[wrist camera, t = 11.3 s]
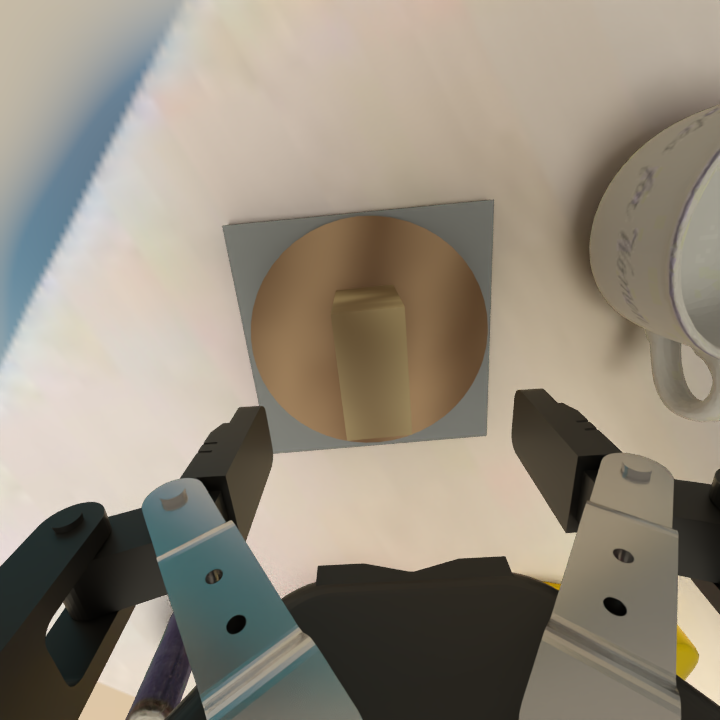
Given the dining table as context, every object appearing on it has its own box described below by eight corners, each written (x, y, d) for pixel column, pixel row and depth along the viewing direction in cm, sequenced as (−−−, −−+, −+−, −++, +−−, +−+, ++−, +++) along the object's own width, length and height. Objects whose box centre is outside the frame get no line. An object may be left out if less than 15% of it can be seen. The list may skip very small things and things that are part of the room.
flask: (200, 650, 33) (133, 839, 23) (166, 642, 33) (82, 831, 23) (224, 575, 30) (158, 755, 20) (186, 566, 30) (100, 744, 20)
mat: (487, 200, 21) (493, 199, 20) (481, 427, 26) (486, 435, 25) (228, 225, 21) (222, 225, 20) (272, 445, 26) (269, 454, 25)
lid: (484, 202, 20) (535, 199, 14) (480, 423, 24) (518, 487, 19) (232, 229, 20) (185, 236, 14) (277, 442, 25) (254, 510, 19)
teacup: (622, 83, 19) (798, 0, 11) (810, 149, 20) (1080, 113, 13) (510, 344, 24) (582, 406, 16) (666, 386, 25) (801, 461, 17)
